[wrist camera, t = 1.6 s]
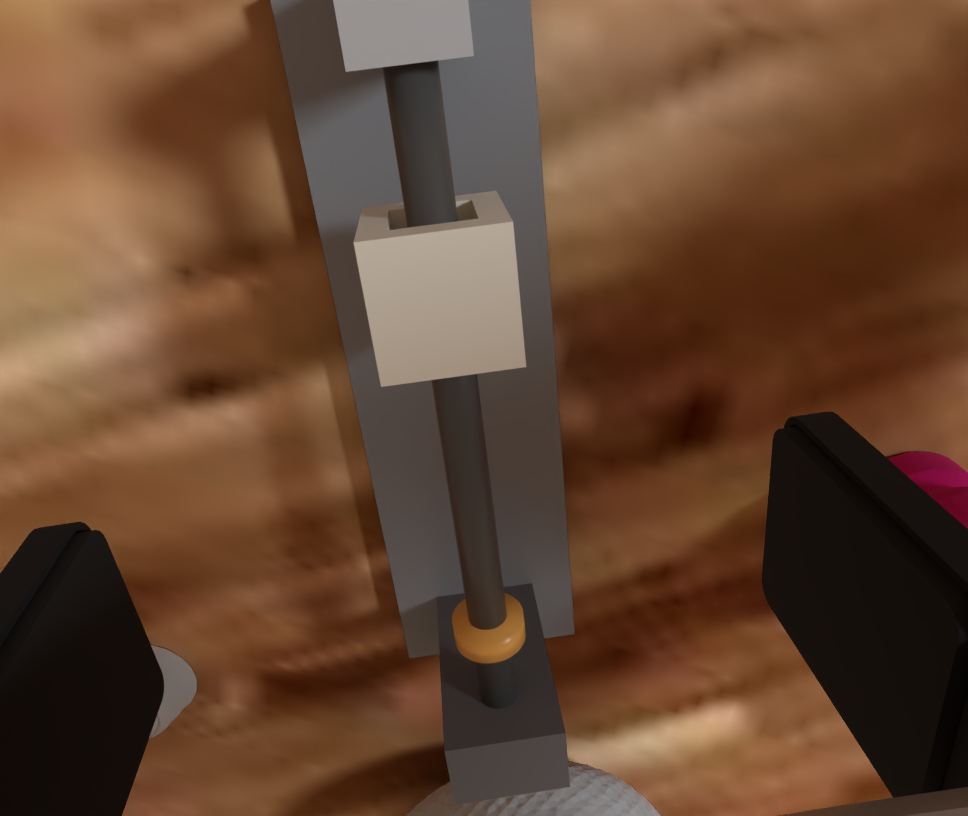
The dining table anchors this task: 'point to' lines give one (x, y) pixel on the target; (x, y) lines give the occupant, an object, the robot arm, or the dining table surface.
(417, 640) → the linear slide rail
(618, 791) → the cereal bowl
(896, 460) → the pepper mill
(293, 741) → the dining table surface
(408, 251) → the sleeve
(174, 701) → the chalice
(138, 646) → the robot arm
